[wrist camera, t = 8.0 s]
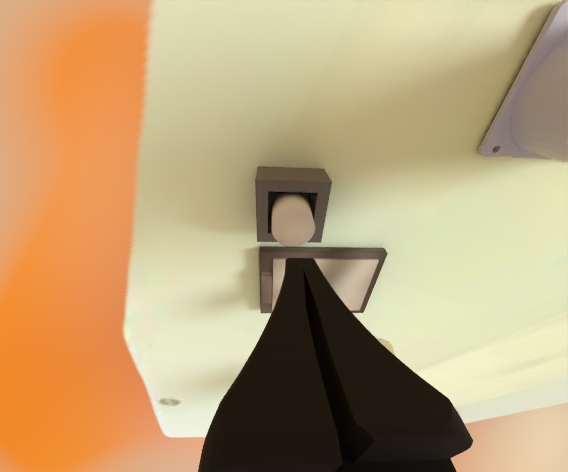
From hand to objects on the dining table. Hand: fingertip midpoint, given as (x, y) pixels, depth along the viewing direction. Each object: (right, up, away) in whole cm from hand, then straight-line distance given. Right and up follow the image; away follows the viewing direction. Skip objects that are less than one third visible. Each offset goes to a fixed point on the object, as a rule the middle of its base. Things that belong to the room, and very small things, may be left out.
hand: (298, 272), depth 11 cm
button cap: (0, +4, +6) cm, 7 cm away
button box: (0, +5, +7) cm, 8 cm away
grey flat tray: (+3, -3, +13) cm, 13 cm away
